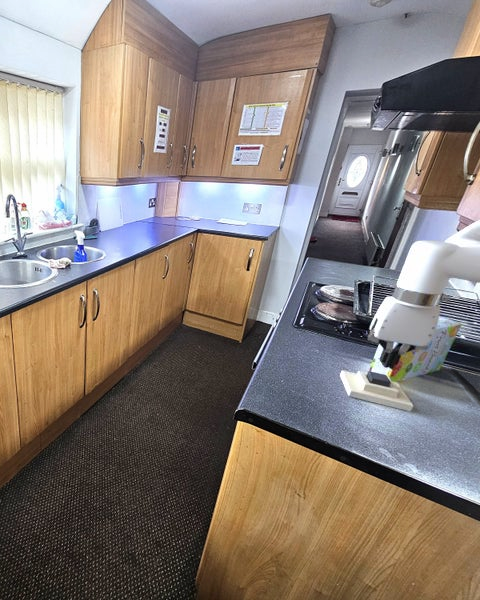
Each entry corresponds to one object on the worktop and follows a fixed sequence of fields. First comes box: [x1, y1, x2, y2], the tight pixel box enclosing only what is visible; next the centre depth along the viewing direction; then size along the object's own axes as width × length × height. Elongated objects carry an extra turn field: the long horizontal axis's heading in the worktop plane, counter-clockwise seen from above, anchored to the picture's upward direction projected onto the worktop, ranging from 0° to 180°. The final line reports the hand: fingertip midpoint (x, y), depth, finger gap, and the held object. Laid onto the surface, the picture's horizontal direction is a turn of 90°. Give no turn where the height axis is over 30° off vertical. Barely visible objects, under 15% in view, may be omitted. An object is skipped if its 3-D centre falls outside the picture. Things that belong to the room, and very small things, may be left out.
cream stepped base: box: [339, 369, 414, 412], centre depth 83 cm, size 12×10×4 cm
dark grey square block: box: [366, 370, 391, 387], centre depth 82 cm, size 4×4×2 cm
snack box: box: [368, 315, 463, 383], centre depth 88 cm, size 21×6×15 cm, turn 107°
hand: (386, 365), depth 80 cm, fingers closed
